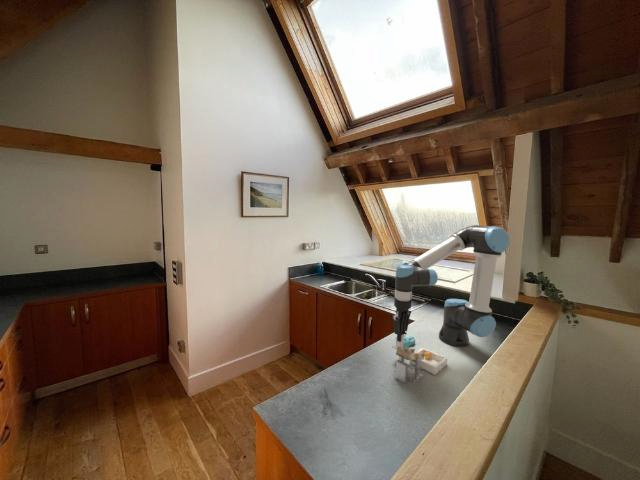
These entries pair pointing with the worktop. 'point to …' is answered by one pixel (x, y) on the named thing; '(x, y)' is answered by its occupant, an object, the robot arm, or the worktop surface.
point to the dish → (432, 362)
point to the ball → (427, 355)
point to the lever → (408, 354)
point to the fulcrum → (407, 370)
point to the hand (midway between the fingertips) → (399, 347)
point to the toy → (407, 341)
